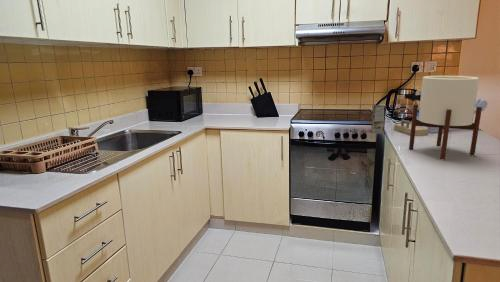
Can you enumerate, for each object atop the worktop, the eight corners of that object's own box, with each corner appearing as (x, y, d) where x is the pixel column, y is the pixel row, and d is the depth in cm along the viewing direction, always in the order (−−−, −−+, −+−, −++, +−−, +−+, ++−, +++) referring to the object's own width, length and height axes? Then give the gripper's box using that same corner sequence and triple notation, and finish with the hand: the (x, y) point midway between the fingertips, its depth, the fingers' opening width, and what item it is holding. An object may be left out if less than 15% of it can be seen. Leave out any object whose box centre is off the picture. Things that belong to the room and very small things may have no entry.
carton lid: (408, 124, 216) (409, 117, 215) (428, 130, 199) (429, 122, 198) (394, 125, 214) (395, 117, 213) (412, 131, 197) (413, 123, 196)
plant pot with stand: (438, 144, 180) (447, 75, 171) (479, 155, 160) (491, 77, 151) (404, 148, 173) (412, 76, 164) (442, 161, 152) (453, 79, 143)
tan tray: (408, 129, 217) (408, 124, 216) (427, 135, 200) (428, 130, 199) (393, 129, 215) (394, 125, 214) (412, 136, 198) (412, 131, 197)
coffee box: (384, 133, 205) (386, 106, 201) (373, 133, 206) (375, 106, 202) (381, 130, 214) (384, 104, 210) (371, 130, 215) (373, 104, 211)
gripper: (422, 90, 210) (402, 89, 208) (439, 92, 197) (418, 91, 194) (420, 101, 212) (400, 100, 209) (437, 104, 198) (416, 103, 195)
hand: (409, 96), depth 202 cm, fingers open, 7 cm apart
